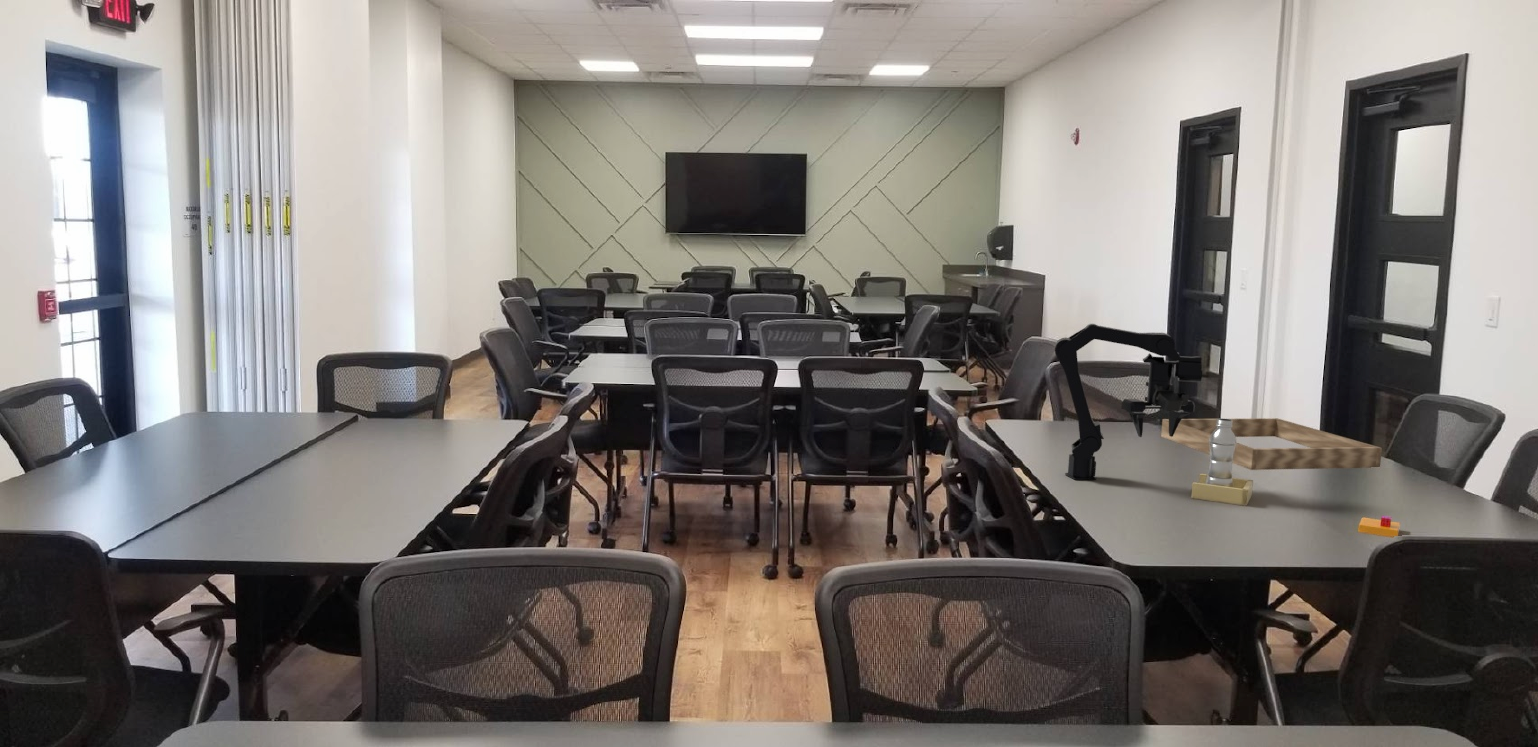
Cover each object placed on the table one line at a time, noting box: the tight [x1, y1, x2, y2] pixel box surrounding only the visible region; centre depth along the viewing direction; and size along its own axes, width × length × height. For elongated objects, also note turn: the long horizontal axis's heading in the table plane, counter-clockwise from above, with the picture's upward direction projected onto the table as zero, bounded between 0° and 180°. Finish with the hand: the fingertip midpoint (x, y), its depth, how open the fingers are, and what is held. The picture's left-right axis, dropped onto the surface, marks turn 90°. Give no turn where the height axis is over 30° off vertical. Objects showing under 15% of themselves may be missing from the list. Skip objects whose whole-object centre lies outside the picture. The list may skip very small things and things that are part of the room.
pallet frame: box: [1160, 417, 1383, 471], centre depth 348 cm, size 43×49×6 cm
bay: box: [1190, 473, 1254, 507], centre depth 286 cm, size 13×13×4 cm
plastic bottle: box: [1205, 417, 1237, 487], centre depth 286 cm, size 6×7×20 cm
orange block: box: [1357, 515, 1401, 538], centre depth 257 cm, size 8×8×4 cm
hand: (1155, 436), depth 298 cm, fingers open, 9 cm apart
